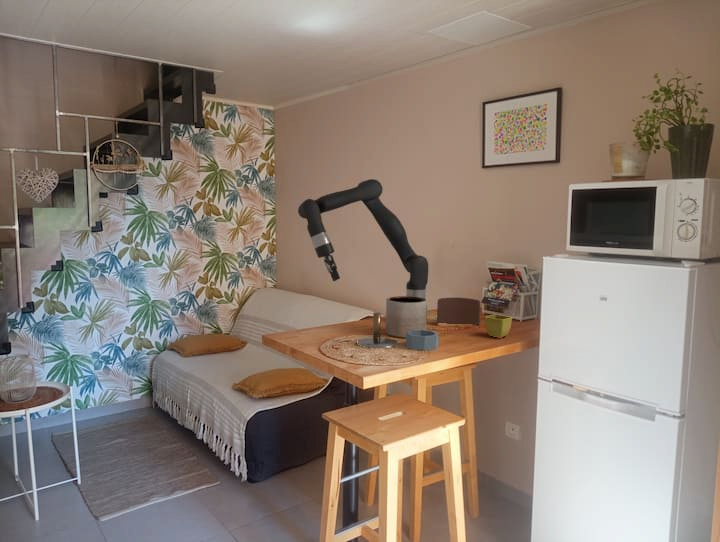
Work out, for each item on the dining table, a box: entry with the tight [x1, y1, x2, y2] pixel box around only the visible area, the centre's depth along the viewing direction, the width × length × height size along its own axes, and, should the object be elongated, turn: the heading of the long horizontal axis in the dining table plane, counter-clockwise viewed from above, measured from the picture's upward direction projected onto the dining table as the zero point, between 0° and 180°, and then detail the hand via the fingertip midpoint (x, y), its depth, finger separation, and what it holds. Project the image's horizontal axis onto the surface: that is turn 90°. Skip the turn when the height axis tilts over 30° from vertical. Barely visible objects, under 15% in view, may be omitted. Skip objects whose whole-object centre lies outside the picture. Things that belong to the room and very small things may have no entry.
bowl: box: [405, 329, 440, 352], centre depth 218 cm, size 12×12×6 cm
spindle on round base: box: [357, 312, 398, 349], centre depth 222 cm, size 17×17×13 cm
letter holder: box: [436, 297, 481, 326], centre depth 260 cm, size 10×20×14 cm, turn 78°
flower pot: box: [484, 313, 513, 337], centre depth 236 cm, size 9×9×9 cm
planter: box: [385, 295, 427, 339], centre depth 240 cm, size 18×18×16 cm
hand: (336, 280), depth 232 cm, fingers open, 8 cm apart
